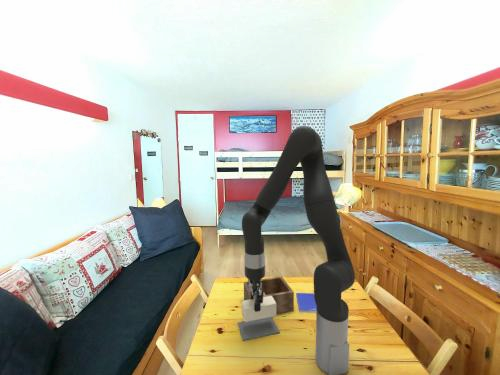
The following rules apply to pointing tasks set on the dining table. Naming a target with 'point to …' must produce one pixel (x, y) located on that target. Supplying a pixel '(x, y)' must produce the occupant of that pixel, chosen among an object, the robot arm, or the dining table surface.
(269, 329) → the mat
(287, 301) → the wooden box
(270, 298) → the block
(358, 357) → the dining table surface
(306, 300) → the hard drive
